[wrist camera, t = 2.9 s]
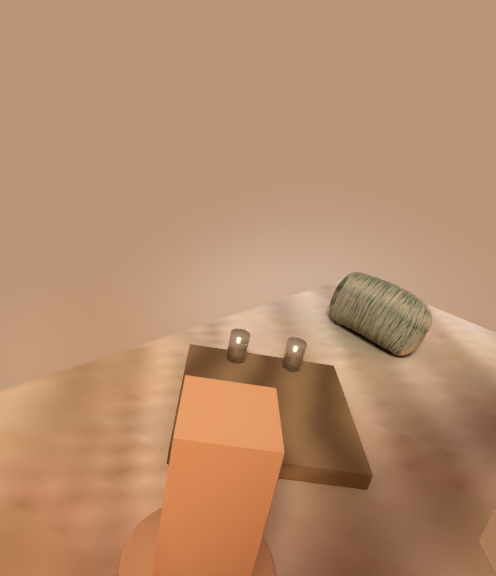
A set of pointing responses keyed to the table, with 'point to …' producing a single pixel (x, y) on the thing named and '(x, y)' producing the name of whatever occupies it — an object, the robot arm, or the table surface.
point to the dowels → (240, 345)
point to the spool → (381, 312)
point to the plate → (297, 415)
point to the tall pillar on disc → (214, 486)
